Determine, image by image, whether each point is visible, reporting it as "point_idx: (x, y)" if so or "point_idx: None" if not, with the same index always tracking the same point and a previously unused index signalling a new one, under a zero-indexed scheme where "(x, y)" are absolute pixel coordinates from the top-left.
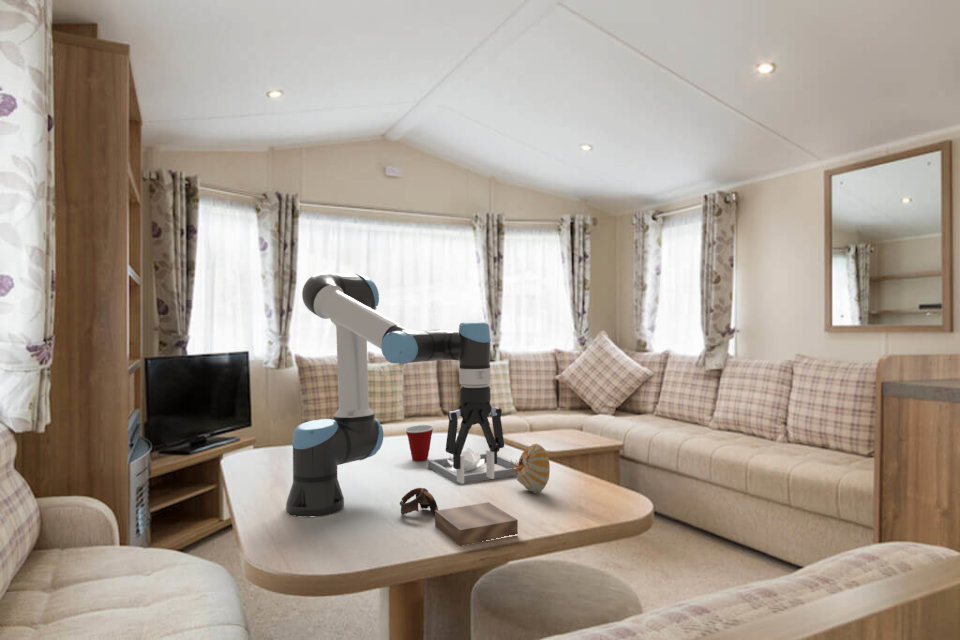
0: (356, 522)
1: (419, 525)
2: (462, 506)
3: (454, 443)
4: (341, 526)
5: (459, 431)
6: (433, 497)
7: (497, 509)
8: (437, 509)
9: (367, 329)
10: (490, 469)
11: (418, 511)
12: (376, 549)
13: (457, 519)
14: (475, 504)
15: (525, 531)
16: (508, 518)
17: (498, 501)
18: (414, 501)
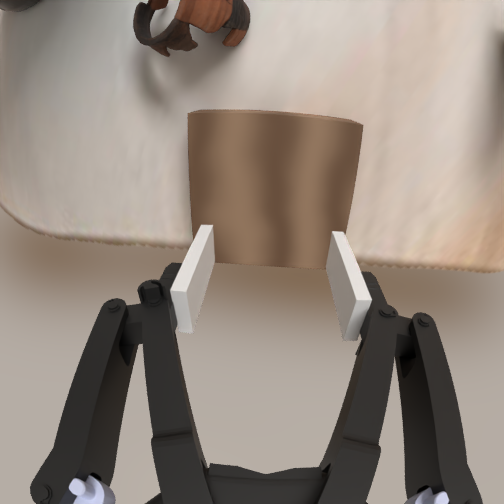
0: (73, 22)
1: (176, 71)
2: (276, 114)
3: (127, 374)
4: (49, 40)
5: (149, 403)
6: (228, 11)
7: (346, 189)
8: (236, 35)
9: None
10: (332, 279)
11: (168, 56)
12: (75, 170)
13: (215, 202)
14: (320, 119)
15: (369, 223)
16: (327, 254)
17: (436, 35)
18: (151, 45)
